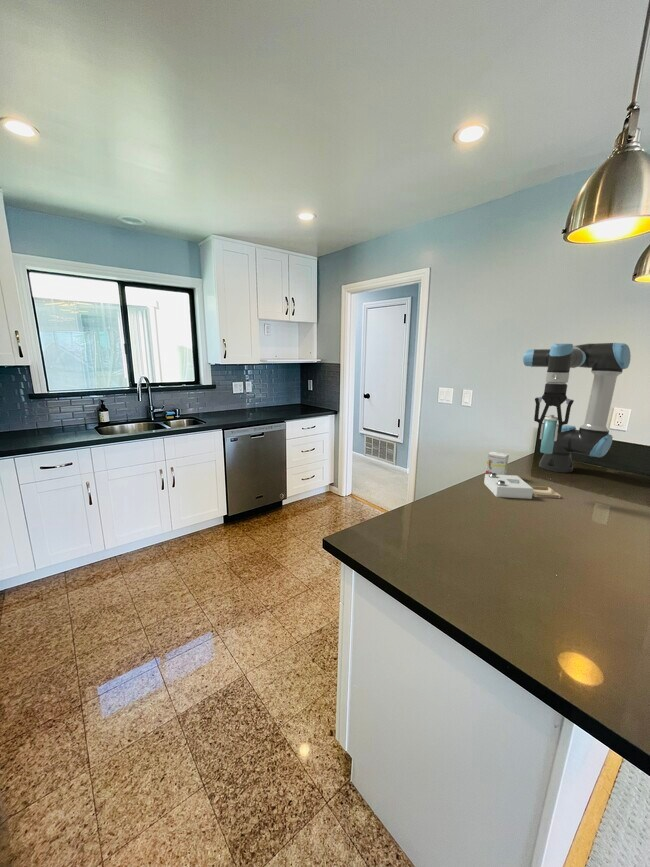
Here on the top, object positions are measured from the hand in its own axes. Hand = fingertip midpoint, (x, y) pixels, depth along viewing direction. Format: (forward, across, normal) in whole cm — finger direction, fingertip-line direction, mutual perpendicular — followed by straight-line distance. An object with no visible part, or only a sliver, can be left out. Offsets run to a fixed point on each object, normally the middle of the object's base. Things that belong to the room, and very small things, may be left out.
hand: (548, 439), depth 146 cm
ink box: (+25, -20, +12) cm, 34 cm away
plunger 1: (+23, -18, -4) cm, 30 cm away
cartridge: (+6, 0, 0) cm, 6 cm away
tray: (+24, 0, 0) cm, 24 cm away
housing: (+24, -12, -6) cm, 28 cm away
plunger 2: (+23, -13, -13) cm, 30 cm away
